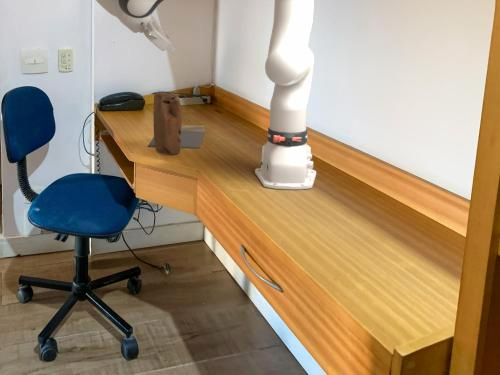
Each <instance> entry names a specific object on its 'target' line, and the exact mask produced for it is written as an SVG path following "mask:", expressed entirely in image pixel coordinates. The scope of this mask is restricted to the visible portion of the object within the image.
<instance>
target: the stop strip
mask: <svg viewBox="0 0 500 375" xmlns="http://www.w3.org/2000/svg"><path fill="white" fill-rule="evenodd" d="M181 131H191V132H204V133H205V132H206V131H205V125H188V124H182V126H181Z"/></svg>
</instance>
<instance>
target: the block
mask: <svg viewBox="0 0 500 375" xmlns="http://www.w3.org/2000/svg"><path fill="white" fill-rule="evenodd" d="M182 114H183V113H182V105H181V100H180V97H179V95H177V94H176V93H174V92H173V93H172V92H155V94H154V98H153V137H154V142H155V147H154V148H155V151H157V153H160V154H163V155H167V156H168V155H169V156H172V155H178V154H179V153H180V152H181V149H182V148H181V139H180V134H181V126H182V125H183V123H182V122H183V116H182Z"/></svg>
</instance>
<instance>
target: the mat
mask: <svg viewBox="0 0 500 375" xmlns="http://www.w3.org/2000/svg"><path fill="white" fill-rule="evenodd" d="M204 136H205V132H191V131H181V134H180V139H181V149H200V147H201V143H202V140H203V137H204ZM147 148H155V142H154V136H153V137H152V139H151V140H150V142H149V143H148V145H147Z"/></svg>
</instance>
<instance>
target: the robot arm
mask: <svg viewBox="0 0 500 375" xmlns="http://www.w3.org/2000/svg"><path fill="white" fill-rule="evenodd" d="M95 1H96V2H97V3H98V4H99V5H100V6H101V8H103V9H104V10H105V11H106V12H107V13H109V14H110V15H111V16H114V17H116V18H117V19H118V20H119V22H120V23H121V24H122V25H124V26H125V27H126V28H127V29H129V30H130V31H131V32H132V33H134V34H135V33H136V34H137V33H141V34H142V33H143V35H144V36H145V37H146V39H148V40H149V41H150V42H151V43H152V44H153V45H154V46H155V47H157V48H158V49H159V50H161V51H162V52H165V50H168V51H170V53H171V54H174V53H175V52H176V50H177V48H176V47H175V46H174V45H173V44H172V43H171V42H170V40H169V39H170V38H169V36H168V35H167V34H166V33H165V32H164V31H163V29H162V27H161V26H160V24H159V23H158V21H157V20H156V19H155V17H153V12H154V11H155V10H156V9H157V7H158V6H159V5H160V4H161V3H163V2H164V1H165V0H95ZM314 3H315V0H274V8H273V10H274V11H273V25H272V29H271V35H270V41H269V47H268V53H267V57H266V60H265V65H264V71H265V74H266V77H267V78H268V79H269V80H270V81H271V82H272V83H273V84H274V88H273V93H272V97H271V99H270V105H269V106H270V107H269V108H270V109H269V127H268V128H267V132H266V134H267V142H266V143H265V144H264V145H262V151H261V161H260V162H261V163H260V164H261V165H260V167H257V168H255V169H254V173H255V175H256V176H257V178H258V179H259V181H260V183H261V184H262V185H263V187H264V188H265V187H266V188H269V189H277V190H308V189H312V188H313V186H314V182H315V179H316V176H317V171H316V170H315V169H314V161H313V160H312V159H313V153H311V152H312V151H311V149H312V148H311V147H310V145H308V144H307V143H308V129H307V119H308V106H309V98H310V94H311V86H312V80H313V72H314V66H315V55H314V53H313V51H312V50H311V49H310V47H308V45H309V39H310V34H311V30H312V27H313V26H312V25H313V23H314V22H313V20H314V5H315V4H314Z"/></svg>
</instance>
